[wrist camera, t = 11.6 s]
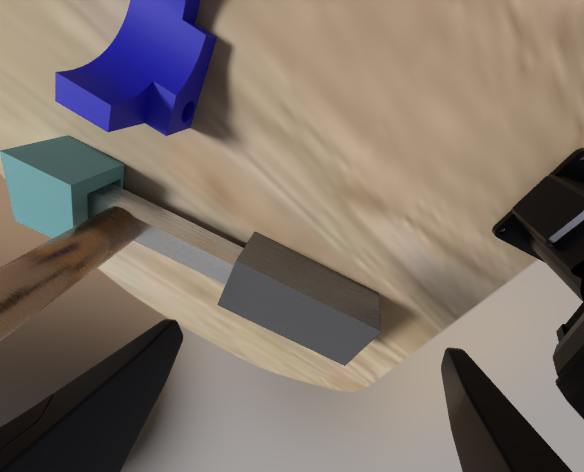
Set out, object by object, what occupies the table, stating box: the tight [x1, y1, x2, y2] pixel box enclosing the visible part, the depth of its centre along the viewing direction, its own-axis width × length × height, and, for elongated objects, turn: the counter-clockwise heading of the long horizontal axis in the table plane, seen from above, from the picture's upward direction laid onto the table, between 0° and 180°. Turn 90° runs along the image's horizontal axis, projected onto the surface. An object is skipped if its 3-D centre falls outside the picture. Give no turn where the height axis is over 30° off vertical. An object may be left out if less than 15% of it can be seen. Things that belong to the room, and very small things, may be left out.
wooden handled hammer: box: [0, 183, 244, 341], centre depth 18 cm, size 18×3×13 cm, turn 66°
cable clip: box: [55, 0, 217, 136], centre depth 14 cm, size 12×4×6 cm, turn 151°
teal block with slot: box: [0, 136, 125, 238], centre depth 22 cm, size 5×6×5 cm
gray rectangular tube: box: [218, 232, 381, 366], centre depth 23 cm, size 12×5×4 cm, turn 66°
